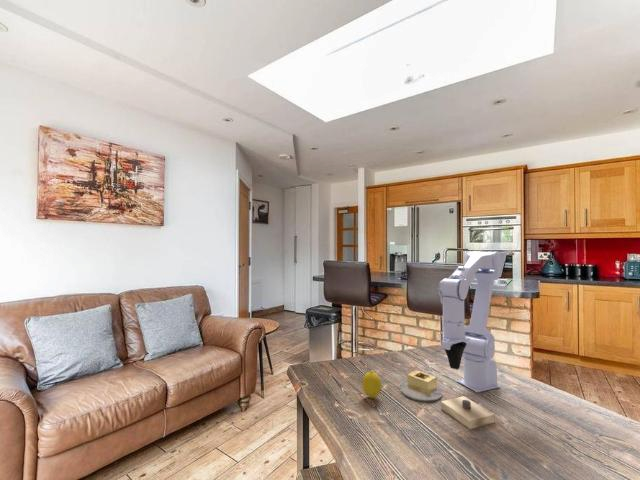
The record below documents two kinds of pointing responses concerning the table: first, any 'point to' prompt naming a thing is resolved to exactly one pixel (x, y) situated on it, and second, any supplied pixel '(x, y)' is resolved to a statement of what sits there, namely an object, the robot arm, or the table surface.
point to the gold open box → (422, 382)
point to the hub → (420, 396)
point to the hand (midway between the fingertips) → (454, 368)
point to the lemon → (371, 384)
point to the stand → (467, 412)
